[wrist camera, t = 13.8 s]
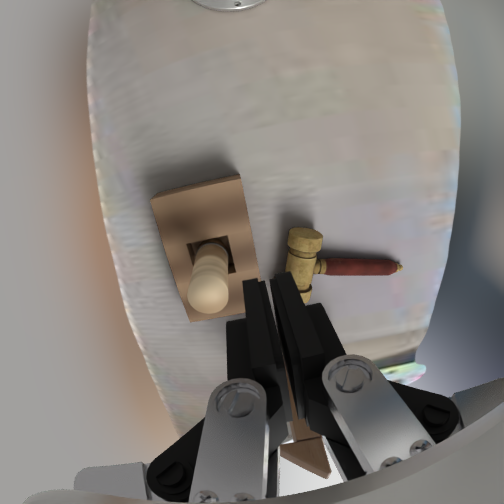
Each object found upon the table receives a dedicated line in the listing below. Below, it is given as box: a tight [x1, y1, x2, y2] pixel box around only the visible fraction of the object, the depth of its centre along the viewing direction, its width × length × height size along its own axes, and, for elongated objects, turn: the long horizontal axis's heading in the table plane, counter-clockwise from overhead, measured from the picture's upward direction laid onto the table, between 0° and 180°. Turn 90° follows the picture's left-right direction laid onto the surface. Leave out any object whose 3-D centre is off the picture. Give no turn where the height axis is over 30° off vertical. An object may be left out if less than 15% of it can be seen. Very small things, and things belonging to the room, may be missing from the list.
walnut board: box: [150, 174, 261, 322], centre depth 37 cm, size 18×11×4 cm, turn 11°
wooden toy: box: [280, 357, 331, 479], centre depth 36 cm, size 16×7×25 cm, turn 93°
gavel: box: [285, 227, 403, 303], centre depth 41 cm, size 21×5×10 cm
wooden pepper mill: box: [187, 238, 228, 314], centre depth 32 cm, size 4×4×12 cm
